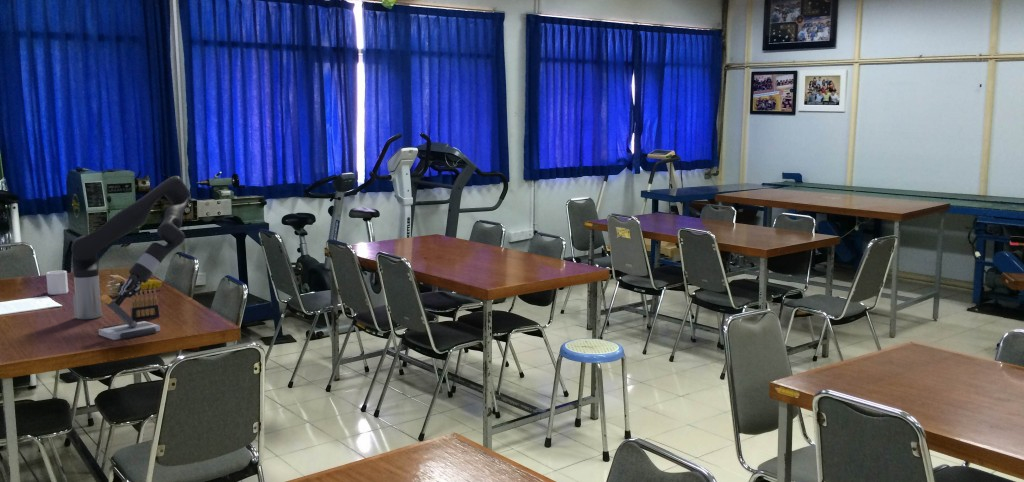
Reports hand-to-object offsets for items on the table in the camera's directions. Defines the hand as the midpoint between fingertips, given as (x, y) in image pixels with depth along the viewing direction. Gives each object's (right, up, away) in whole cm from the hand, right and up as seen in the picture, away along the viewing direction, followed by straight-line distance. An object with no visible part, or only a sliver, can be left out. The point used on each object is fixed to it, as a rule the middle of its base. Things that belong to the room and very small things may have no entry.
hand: (115, 304), depth 333 cm
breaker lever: (+4, -8, +6) cm, 11 cm away
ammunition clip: (-1, -8, +29) cm, 30 cm away
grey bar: (-3, -10, +10) cm, 15 cm away
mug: (-65, 0, +84) cm, 106 cm away
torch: (-26, -1, +79) cm, 84 cm away
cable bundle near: (+9, -12, 0) cm, 14 cm away
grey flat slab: (+3, -11, +5) cm, 13 cm away
